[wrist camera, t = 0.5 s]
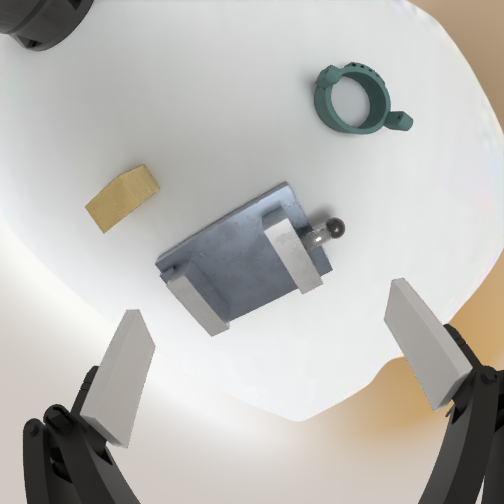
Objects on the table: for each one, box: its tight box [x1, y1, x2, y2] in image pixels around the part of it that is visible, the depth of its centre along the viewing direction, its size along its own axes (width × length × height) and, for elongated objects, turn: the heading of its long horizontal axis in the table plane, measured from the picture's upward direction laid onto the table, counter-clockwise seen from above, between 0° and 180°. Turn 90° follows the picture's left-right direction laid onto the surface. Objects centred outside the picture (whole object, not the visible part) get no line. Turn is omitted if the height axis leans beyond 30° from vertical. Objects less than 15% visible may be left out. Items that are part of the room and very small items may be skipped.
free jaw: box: [261, 207, 345, 294], centre depth 33 cm, size 10×9×4 cm
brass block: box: [85, 165, 160, 233], centre depth 30 cm, size 4×6×8 cm, turn 121°
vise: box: [155, 182, 333, 337], centre depth 36 cm, size 14×21×6 cm, turn 121°
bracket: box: [314, 62, 413, 134], centre depth 25 cm, size 9×9×9 cm
